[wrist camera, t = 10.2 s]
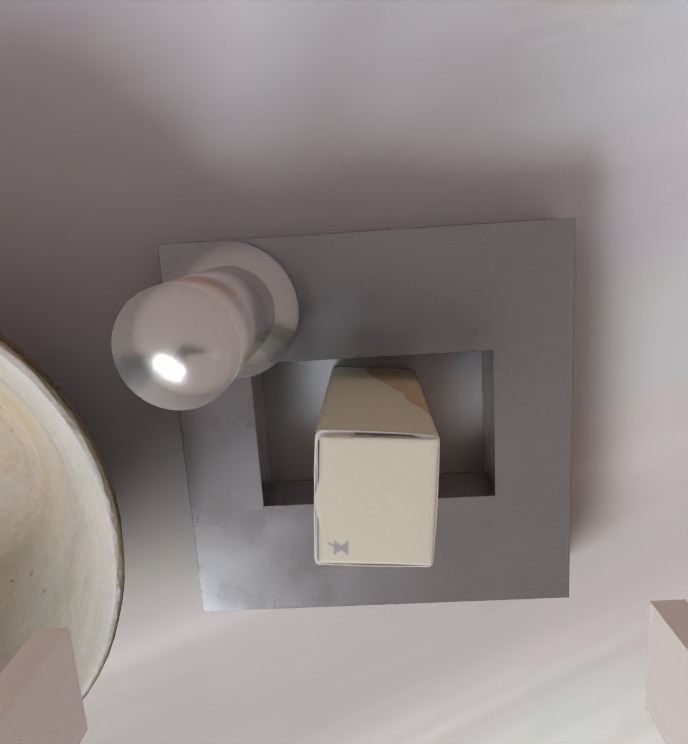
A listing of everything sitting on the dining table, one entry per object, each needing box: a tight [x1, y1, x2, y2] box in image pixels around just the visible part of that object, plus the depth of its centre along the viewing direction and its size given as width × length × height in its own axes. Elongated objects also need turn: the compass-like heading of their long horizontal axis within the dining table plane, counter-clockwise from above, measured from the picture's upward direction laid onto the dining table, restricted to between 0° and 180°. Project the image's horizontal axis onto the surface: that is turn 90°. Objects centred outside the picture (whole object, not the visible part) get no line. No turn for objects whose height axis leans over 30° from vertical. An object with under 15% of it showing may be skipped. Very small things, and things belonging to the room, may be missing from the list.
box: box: [314, 367, 440, 567], centre depth 27 cm, size 5×4×11 cm
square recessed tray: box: [158, 219, 575, 611], centre depth 31 cm, size 18×18×3 cm
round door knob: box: [111, 241, 300, 410], centre depth 26 cm, size 6×6×12 cm
